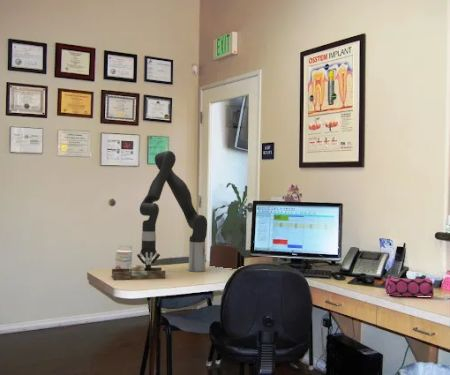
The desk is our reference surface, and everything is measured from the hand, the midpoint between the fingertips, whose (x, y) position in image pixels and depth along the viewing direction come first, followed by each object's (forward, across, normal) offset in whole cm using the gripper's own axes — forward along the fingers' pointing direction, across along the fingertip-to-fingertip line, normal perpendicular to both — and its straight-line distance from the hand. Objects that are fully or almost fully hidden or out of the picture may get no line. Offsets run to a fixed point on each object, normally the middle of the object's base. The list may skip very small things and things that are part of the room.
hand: (148, 271), depth 267 cm
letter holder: (+4, -54, -24) cm, 59 cm away
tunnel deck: (+3, +5, 0) cm, 6 cm away
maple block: (+1, +5, -1) cm, 5 cm away
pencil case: (+4, -113, +73) cm, 134 cm away
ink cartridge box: (+3, +11, -20) cm, 23 cm away
